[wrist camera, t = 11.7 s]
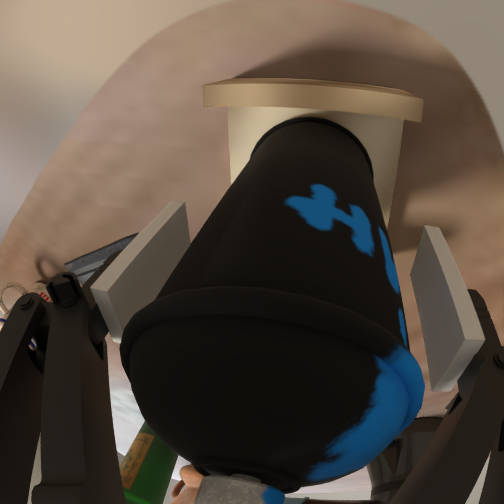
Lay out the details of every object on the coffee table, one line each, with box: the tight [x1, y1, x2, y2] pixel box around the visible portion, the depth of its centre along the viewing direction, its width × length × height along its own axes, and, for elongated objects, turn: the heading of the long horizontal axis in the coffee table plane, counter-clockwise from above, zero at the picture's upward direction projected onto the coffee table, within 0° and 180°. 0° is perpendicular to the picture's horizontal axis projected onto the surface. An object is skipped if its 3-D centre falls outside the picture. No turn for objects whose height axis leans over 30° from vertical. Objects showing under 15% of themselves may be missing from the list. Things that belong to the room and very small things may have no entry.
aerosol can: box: [119, 117, 425, 504], centre depth 12 cm, size 8×8×20 cm
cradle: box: [202, 78, 424, 229], centre depth 19 cm, size 11×13×5 cm
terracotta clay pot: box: [171, 465, 204, 504], centre depth 63 cm, size 18×14×14 cm
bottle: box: [119, 421, 178, 504], centre depth 44 cm, size 11×11×28 cm
